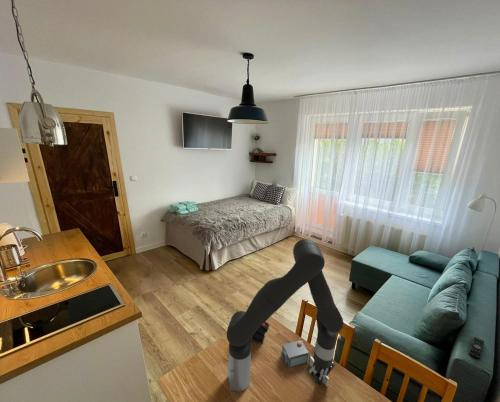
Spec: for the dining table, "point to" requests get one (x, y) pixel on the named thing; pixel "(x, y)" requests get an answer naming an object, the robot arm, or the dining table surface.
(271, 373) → the dining table surface
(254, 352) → the dining table surface
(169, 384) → the dining table surface
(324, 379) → the side door
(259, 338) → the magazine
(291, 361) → the camera body
